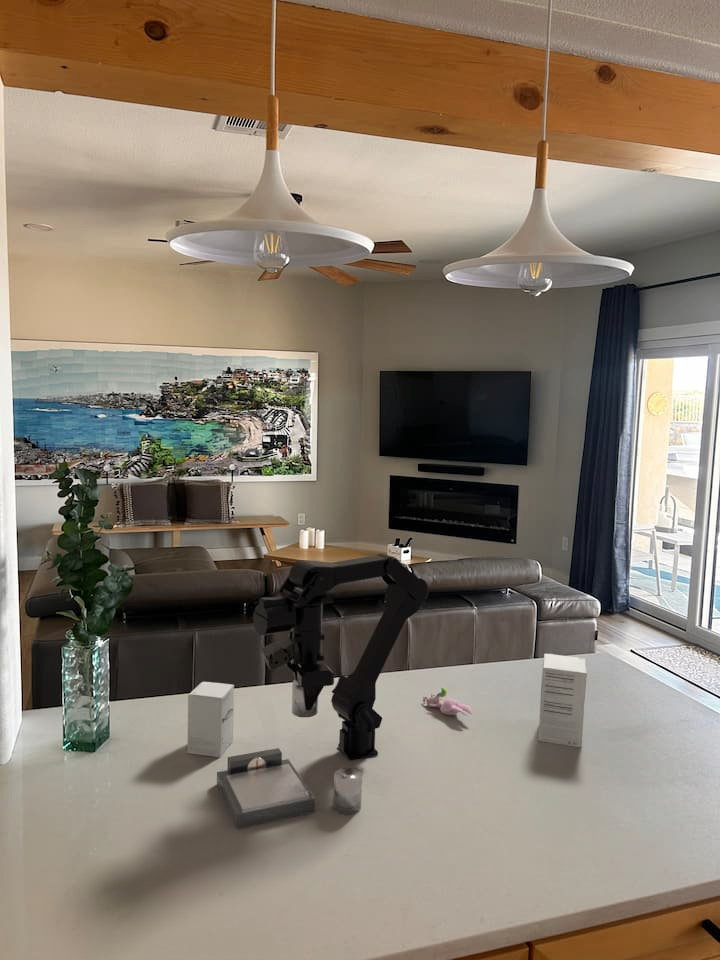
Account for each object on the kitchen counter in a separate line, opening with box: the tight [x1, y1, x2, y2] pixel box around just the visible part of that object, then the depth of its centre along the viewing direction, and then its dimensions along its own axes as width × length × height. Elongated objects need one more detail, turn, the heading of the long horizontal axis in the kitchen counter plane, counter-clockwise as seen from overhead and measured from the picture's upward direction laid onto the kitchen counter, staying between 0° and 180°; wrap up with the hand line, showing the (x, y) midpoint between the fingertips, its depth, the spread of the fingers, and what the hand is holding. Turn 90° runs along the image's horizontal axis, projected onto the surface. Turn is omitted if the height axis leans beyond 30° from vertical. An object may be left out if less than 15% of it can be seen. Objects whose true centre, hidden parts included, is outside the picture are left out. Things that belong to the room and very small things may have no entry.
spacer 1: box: [291, 678, 319, 718], centre depth 140 cm, size 5×5×6 cm
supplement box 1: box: [186, 681, 235, 758], centre depth 148 cm, size 7×7×13 cm
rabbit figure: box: [422, 687, 473, 716], centre depth 168 cm, size 6×6×15 cm
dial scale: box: [216, 747, 316, 829], centre depth 130 cm, size 14×15×5 cm
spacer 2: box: [332, 767, 363, 816], centre depth 128 cm, size 5×5×6 cm
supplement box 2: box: [538, 653, 588, 748], centre depth 158 cm, size 10×9×17 cm
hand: (304, 704), depth 140 cm, fingers closed on spacer 1, 5 cm apart
